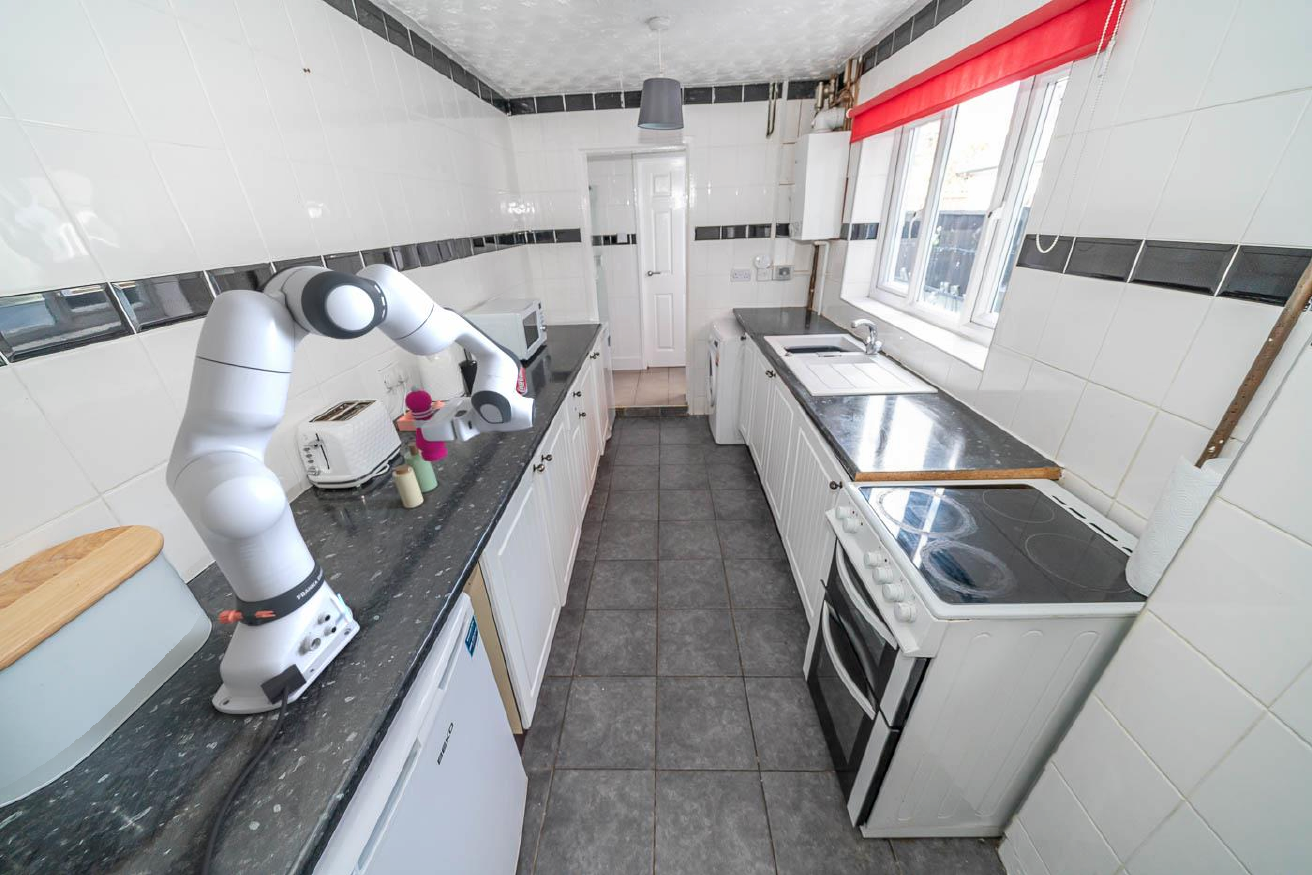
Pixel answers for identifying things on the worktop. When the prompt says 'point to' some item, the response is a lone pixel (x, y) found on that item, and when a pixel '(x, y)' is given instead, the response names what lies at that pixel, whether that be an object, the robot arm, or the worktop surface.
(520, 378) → the soda can
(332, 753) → the worktop surface
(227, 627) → the worktop surface
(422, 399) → the pepper mill
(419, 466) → the oil jar
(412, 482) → the salt pot
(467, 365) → the drinking cup
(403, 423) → the pottery
